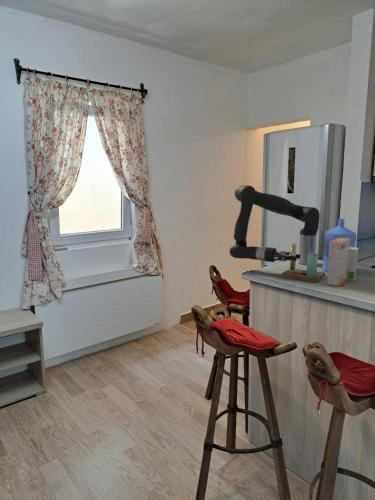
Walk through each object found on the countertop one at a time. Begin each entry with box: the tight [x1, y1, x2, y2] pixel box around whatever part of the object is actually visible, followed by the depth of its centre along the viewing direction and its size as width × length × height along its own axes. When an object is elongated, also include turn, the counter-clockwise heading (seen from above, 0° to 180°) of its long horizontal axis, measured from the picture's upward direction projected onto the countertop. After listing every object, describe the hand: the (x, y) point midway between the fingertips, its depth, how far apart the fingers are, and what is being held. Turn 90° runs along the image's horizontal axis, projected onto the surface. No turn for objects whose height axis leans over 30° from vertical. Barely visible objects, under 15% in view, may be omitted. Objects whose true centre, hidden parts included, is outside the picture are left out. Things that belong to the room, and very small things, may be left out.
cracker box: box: [327, 238, 351, 287], centre depth 170 cm, size 14×6×21 cm, turn 141°
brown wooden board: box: [279, 268, 326, 284], centre depth 182 cm, size 15×18×2 cm
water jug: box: [322, 218, 357, 273], centre depth 193 cm, size 16×16×28 cm
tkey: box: [289, 243, 307, 274], centre depth 181 cm, size 5×10×14 cm, turn 56°
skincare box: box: [347, 246, 359, 281], centre depth 179 cm, size 8×7×16 cm
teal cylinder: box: [306, 252, 319, 278], centre depth 174 cm, size 5×5×12 cm
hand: (298, 257), depth 181 cm, fingers open, 5 cm apart
